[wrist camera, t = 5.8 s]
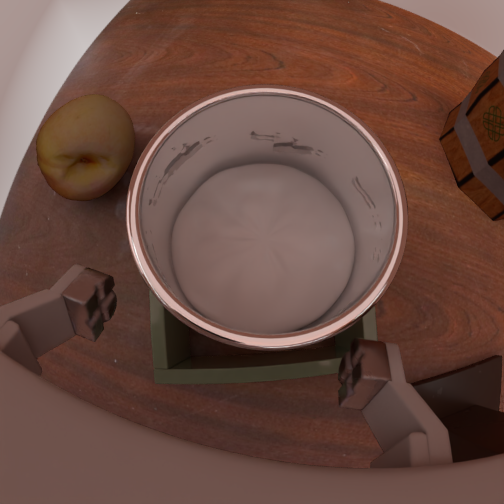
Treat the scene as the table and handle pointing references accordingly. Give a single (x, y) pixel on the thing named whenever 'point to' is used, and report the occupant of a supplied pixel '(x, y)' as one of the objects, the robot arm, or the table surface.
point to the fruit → (85, 147)
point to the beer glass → (267, 217)
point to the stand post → (468, 408)
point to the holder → (242, 355)
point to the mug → (479, 141)
